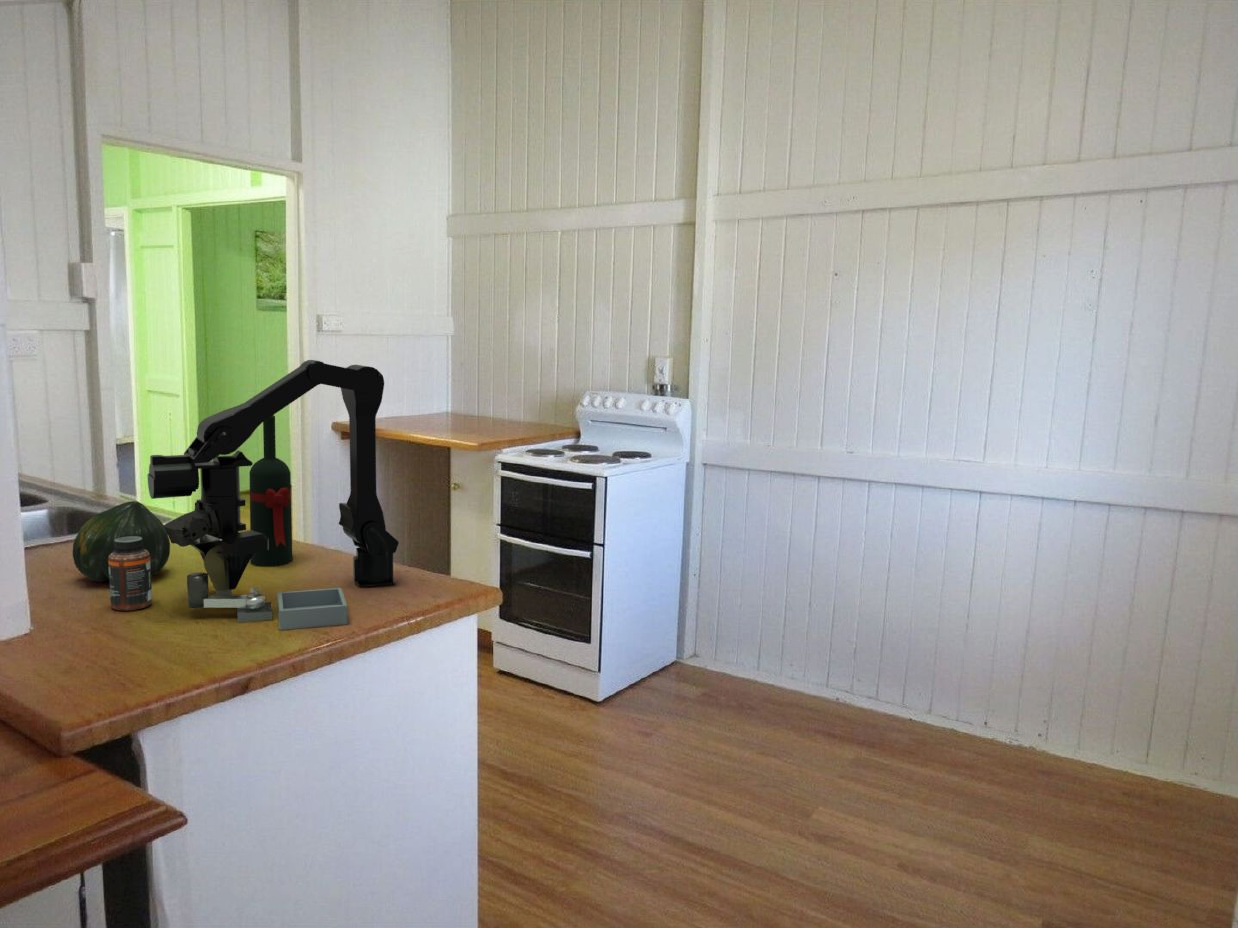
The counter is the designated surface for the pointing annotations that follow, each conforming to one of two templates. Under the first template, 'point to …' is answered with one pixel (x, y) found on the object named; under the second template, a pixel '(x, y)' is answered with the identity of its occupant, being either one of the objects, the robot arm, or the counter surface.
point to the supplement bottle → (130, 575)
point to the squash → (117, 523)
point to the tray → (311, 608)
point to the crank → (202, 599)
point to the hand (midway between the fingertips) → (223, 585)
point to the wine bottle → (271, 502)
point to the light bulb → (216, 571)
